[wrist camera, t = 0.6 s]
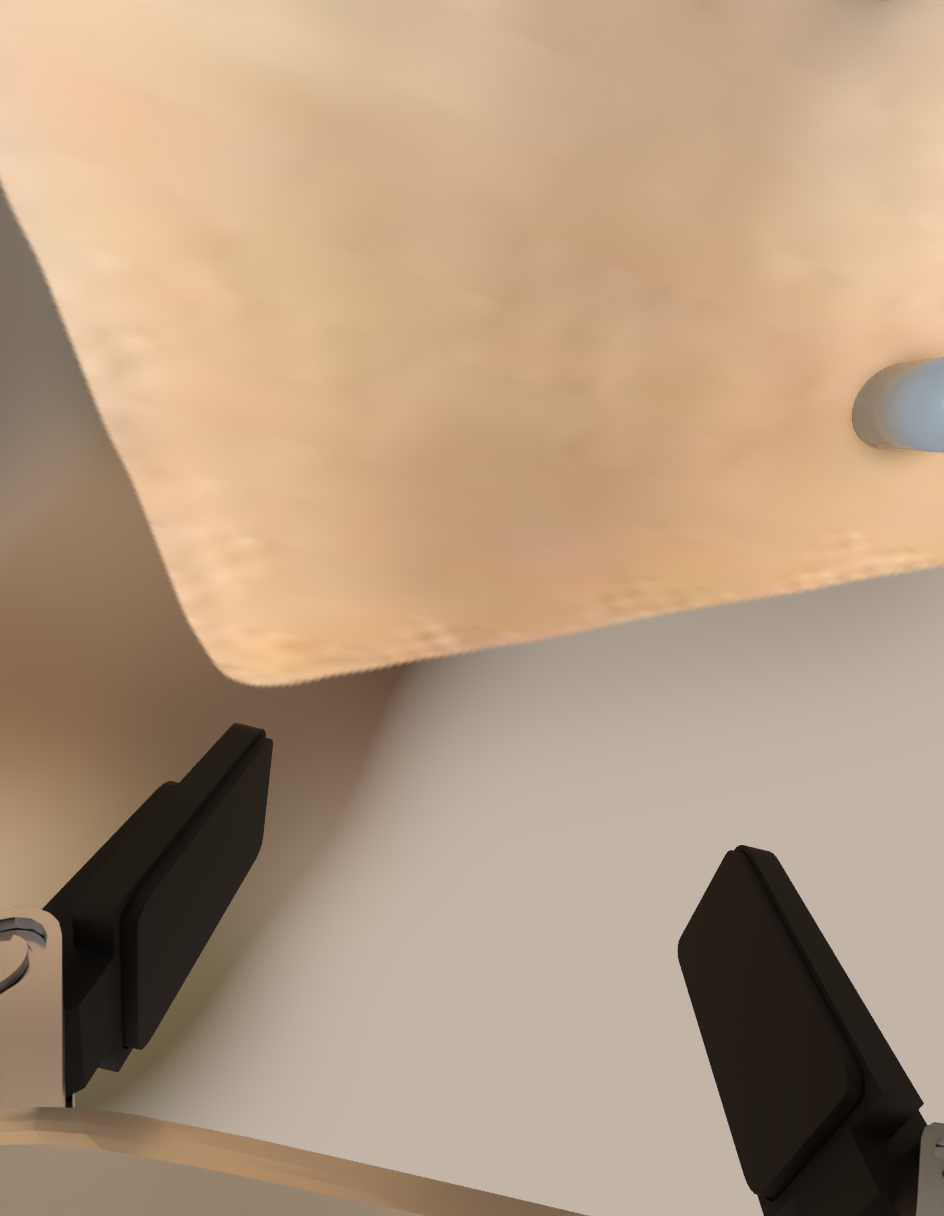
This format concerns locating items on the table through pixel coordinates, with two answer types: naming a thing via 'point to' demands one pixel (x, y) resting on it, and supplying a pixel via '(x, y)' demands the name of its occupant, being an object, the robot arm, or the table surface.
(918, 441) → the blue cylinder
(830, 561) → the table surface
